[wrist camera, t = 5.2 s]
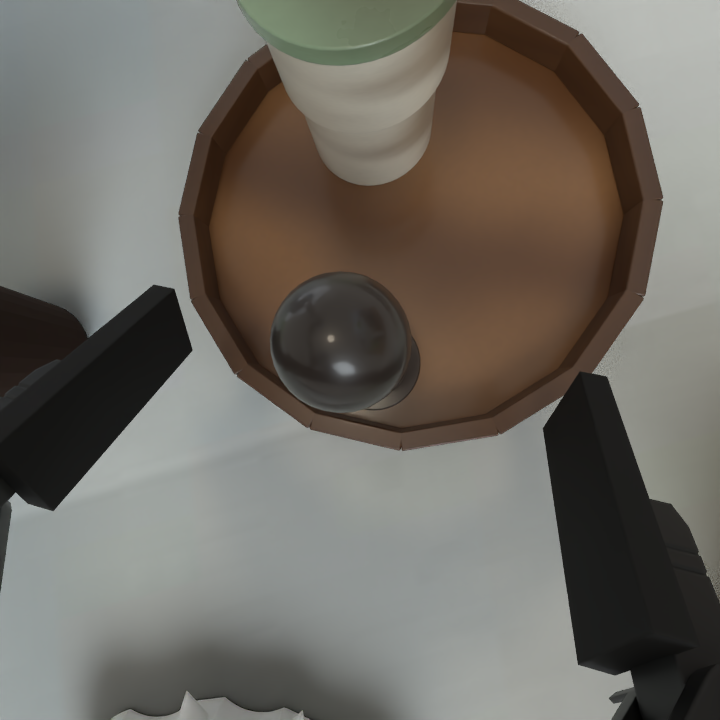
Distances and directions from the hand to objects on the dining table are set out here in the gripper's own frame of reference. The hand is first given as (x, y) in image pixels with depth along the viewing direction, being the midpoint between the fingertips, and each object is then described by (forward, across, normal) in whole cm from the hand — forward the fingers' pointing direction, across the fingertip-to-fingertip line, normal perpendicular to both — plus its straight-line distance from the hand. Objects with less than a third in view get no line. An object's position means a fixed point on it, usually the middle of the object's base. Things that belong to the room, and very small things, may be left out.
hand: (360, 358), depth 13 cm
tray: (+10, 0, 0) cm, 10 cm away
